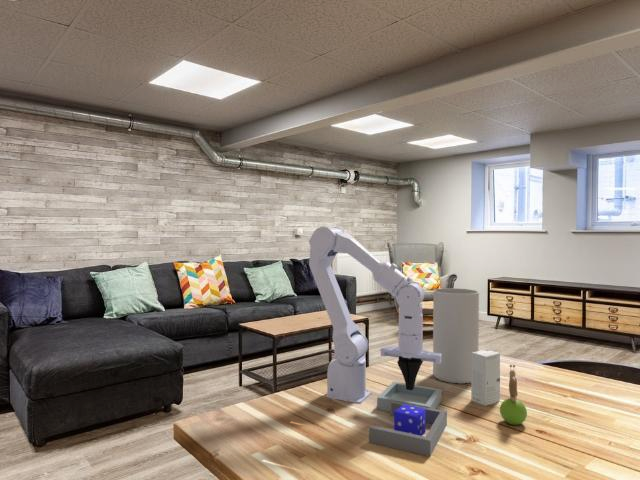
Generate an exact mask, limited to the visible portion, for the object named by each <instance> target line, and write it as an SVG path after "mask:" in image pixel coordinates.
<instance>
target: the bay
mask: <svg viewBox="0 0 640 480" xmlns="http://www.w3.org/2000/svg"><path fill="white" fill-rule="evenodd" d="M403 404H406V403H400V402H395V401H393V402H392V403H391V412H390V416H391V417H394V411H396V410H397V409H398V408H400V407H401V406H402V405H403ZM406 405H410V406H414V407H419V408H423V409H425V410H426V421H425V424H429V425H432V426H431V427H430V428H429V430H428V432H427V434H426V435H425V436H423V435H422V436H420V435H415V434H410V433H406V432H401V431H396V430H394V429H392V428H386V427H381V426H378V425H371V424H370V425H369V427H368V443H371V444H374V445H378V446H383V447H386V448H392V449H394V450H395V449H396V450H400V451H404V452H408V453H413V454H417V455H422V456H427V457H431V456H432V454H433V452H434V451H435V449H436V447H437V444H438V442H439V440H440V439H441V436H442V435H443V433H444V431H445V429H446V428H447V426H448V420H447V418H448V411H447V410H444V409H443V410H442V409H437V408H436V409H433V408H427V407H422V406H417V405H411V404H406Z"/></svg>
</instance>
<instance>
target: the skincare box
mask: <svg viewBox="0 0 640 480" xmlns="http://www.w3.org/2000/svg"><path fill="white" fill-rule="evenodd" d="M471 363H472V364H471V383H470V385H471V386H470V387H471V391H470V392H471V394H470V395H471V399H470V400H471V401H472V402H474V403H476V404H479V405H481V406H485V407H486V406H490V405H494V404H496V403H499V402H501V354H500V352H497V351H493V350H489V349H484V350H478V351H477V352H472V362H471Z"/></svg>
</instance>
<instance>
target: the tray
mask: <svg viewBox="0 0 640 480" xmlns="http://www.w3.org/2000/svg"><path fill="white" fill-rule="evenodd" d="M376 399H377V401H376V408H377V410H381V411H385V412H390V413H391V403H392V402H393V401H395V402H400V403H406V404H411V405H417V406H422V407H427V408H433V409H437V408H438V407H439V405H440V404H441V403H442V388H435V387H429V386H423V385H418V384H417V385H416V384H415V385H414V389H413V390H407V389H406V384H405V382H404V383H403V382H398V381H392V382H391V383H390V384H389V385H388V386H387V387H386V388H385V389H384V390H383V391H382V392H381V393H380V394H379V395H378V396H377V398H376Z"/></svg>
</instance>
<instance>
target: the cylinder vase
mask: <svg viewBox="0 0 640 480" xmlns="http://www.w3.org/2000/svg"><path fill="white" fill-rule="evenodd" d="M432 307H433V308H432V309H433V311H432V313H433V314H432V315H433V316H432V317H433V318H432V320H433V322H432V326H433V327H432V329H433V331H432V352H434V353H439V354H442V362H441V363H440V364H437V363H435V362H432V374H433V376H434V378H436V379H437V380H439V381H441V382H445V383H448V384H449V383H450V384H455V383H458V384H459V385H462V384H463V385H464V384H465V383H467V384H471V364H472V363H471V362H472V352H477V351H479V345H480V344H479V333H480V332H479V331H480V329H479V326H480V325H479V323H480V321H479V320H480V319H479V318H480V291H479V290H475V289H467V288H456V287H454V288H453V287H451V288H450V287H448V288H445V287H443V288H434V289H433V304H432ZM458 384H457V385H458Z"/></svg>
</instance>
